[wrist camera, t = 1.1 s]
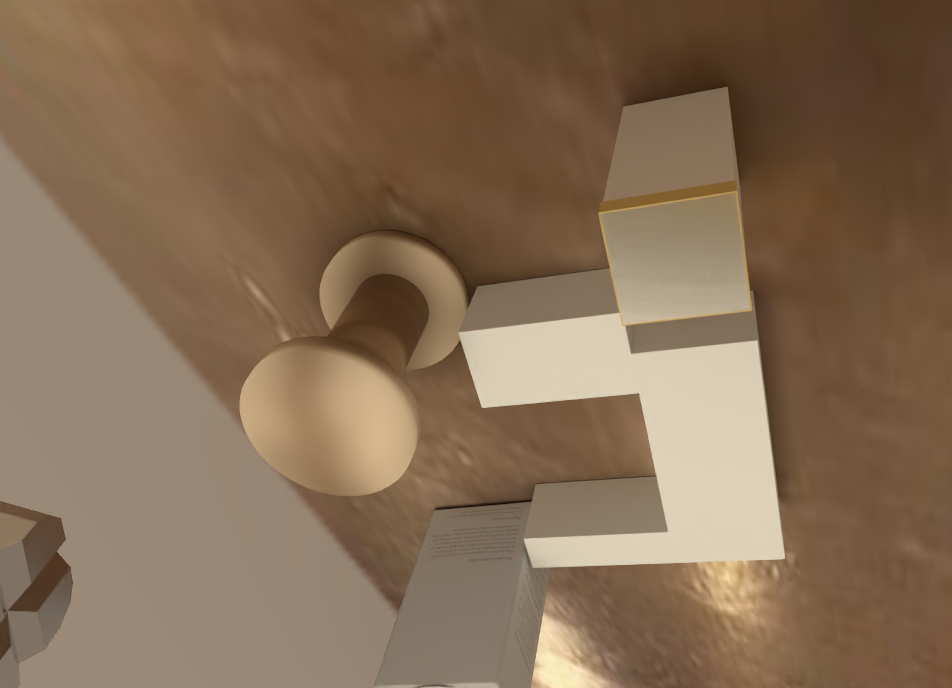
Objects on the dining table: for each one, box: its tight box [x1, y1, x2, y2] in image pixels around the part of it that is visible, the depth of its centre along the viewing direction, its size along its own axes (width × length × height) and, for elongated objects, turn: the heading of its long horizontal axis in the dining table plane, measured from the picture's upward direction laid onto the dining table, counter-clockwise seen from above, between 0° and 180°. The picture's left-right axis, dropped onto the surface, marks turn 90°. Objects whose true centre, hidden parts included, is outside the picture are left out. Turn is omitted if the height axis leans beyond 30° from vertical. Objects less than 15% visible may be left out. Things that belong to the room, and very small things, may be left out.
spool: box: [240, 230, 470, 496], centre depth 39 cm, size 7×7×10 cm
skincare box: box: [373, 502, 551, 688], centre depth 45 cm, size 6×4×12 cm
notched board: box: [458, 268, 785, 568], centre depth 42 cm, size 12×14×4 cm
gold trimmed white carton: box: [598, 87, 752, 326], centre depth 32 cm, size 4×4×10 cm
